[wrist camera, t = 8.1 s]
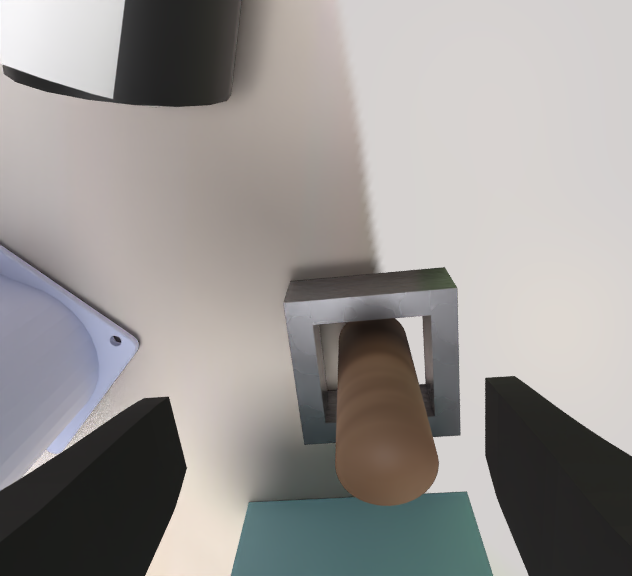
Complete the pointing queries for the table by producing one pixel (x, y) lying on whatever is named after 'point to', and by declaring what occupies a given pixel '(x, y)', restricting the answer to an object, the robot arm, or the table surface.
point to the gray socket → (372, 304)
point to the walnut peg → (381, 417)
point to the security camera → (123, 49)
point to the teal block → (362, 538)
